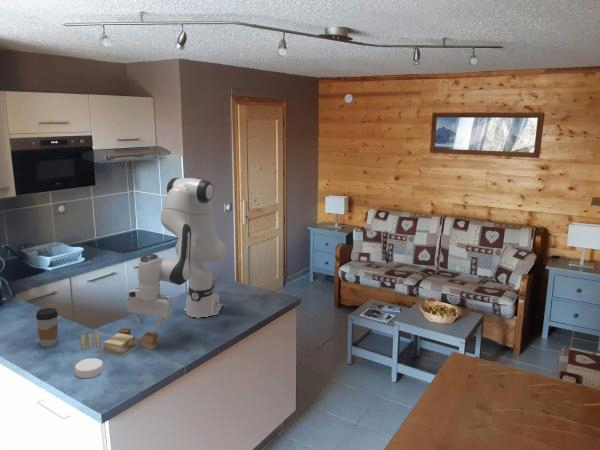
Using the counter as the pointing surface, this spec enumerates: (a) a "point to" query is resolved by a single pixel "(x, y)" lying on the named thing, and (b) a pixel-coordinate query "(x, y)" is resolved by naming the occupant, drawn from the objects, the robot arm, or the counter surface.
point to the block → (125, 331)
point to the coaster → (89, 368)
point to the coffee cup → (47, 326)
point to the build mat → (137, 344)
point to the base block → (119, 343)
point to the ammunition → (90, 340)
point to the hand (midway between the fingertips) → (149, 324)
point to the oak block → (150, 340)
